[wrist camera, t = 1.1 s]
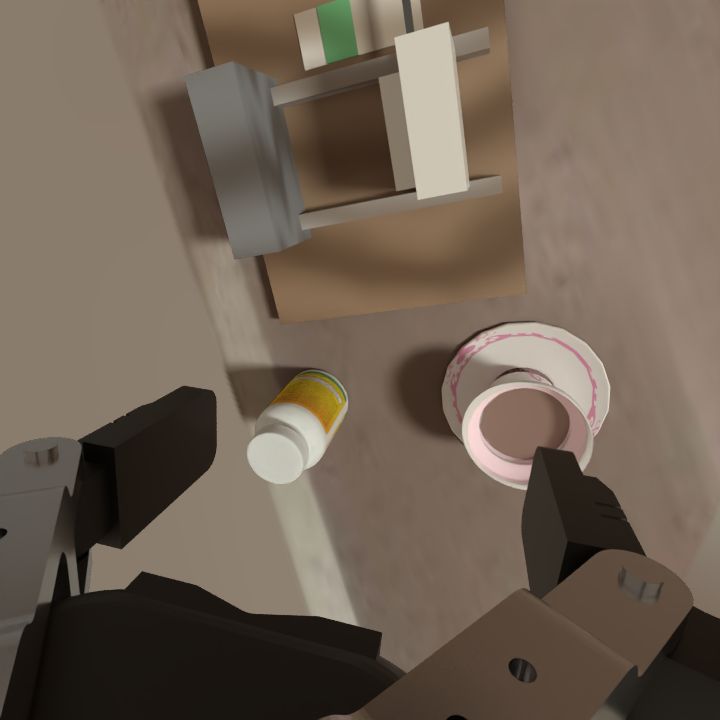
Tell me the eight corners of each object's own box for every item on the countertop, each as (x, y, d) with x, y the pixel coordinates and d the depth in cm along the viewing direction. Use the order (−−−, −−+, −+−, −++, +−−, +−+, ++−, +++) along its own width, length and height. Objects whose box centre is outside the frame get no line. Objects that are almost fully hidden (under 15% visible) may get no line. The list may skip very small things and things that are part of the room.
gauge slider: (373, -12, 27) (335, -72, 20) (447, -36, 26) (434, -109, 19) (405, 196, 31) (382, 206, 24) (470, 184, 30) (467, 190, 23)
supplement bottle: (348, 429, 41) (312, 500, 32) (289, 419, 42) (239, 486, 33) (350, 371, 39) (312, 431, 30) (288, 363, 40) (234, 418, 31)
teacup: (410, 396, 39) (398, 436, 33) (521, 285, 34) (528, 310, 28) (522, 489, 39) (528, 542, 34) (647, 394, 34) (678, 439, 29)
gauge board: (206, -5, 31) (130, -52, 24) (494, -108, 26) (497, -203, 19) (287, 318, 38) (246, 352, 32) (525, 288, 33) (535, 320, 27)
